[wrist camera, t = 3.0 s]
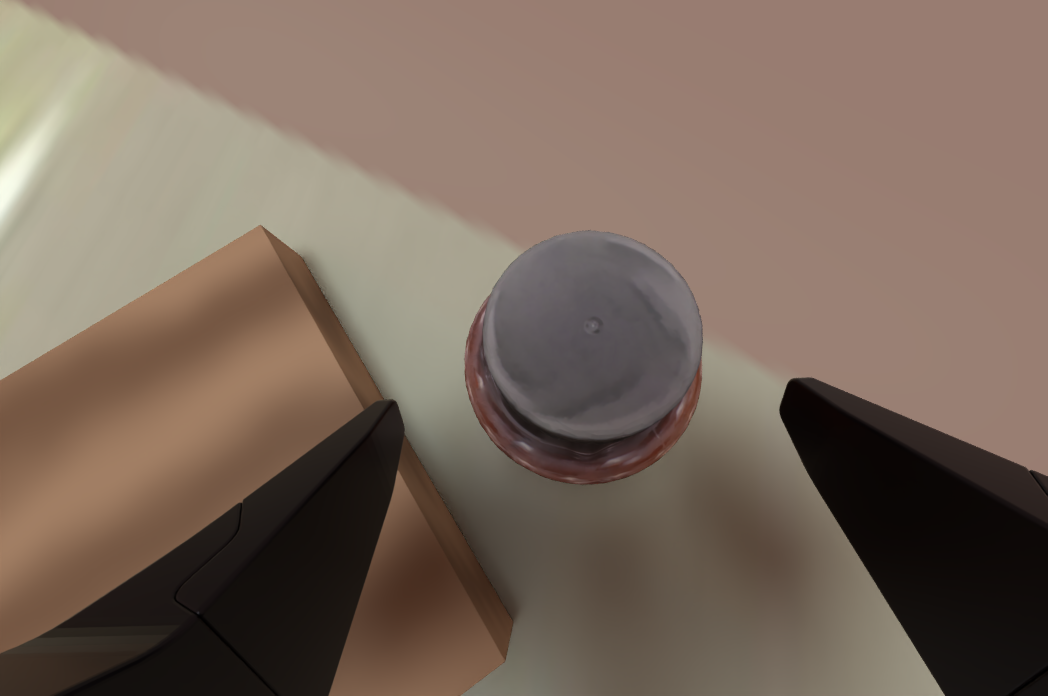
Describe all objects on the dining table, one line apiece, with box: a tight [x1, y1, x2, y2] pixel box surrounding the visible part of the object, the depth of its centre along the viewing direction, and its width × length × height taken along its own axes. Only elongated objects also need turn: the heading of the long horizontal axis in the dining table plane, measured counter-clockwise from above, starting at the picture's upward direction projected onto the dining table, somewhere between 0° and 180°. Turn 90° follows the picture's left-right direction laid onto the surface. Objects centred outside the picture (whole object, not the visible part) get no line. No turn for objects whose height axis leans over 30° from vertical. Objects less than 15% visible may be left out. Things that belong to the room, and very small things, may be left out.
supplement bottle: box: [465, 230, 703, 484], centre depth 12 cm, size 6×6×11 cm
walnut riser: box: [0, 225, 513, 696], centre depth 16 cm, size 20×16×3 cm
